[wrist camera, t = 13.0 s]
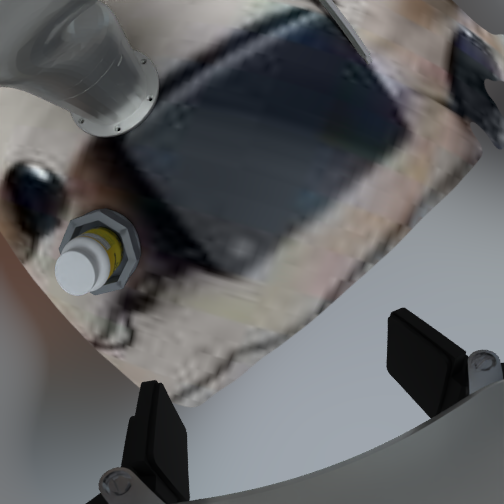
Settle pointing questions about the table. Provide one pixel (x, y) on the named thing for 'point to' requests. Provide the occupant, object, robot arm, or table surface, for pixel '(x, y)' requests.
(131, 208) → the table surface
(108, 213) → the socket cup
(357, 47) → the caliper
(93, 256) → the pill bottle
